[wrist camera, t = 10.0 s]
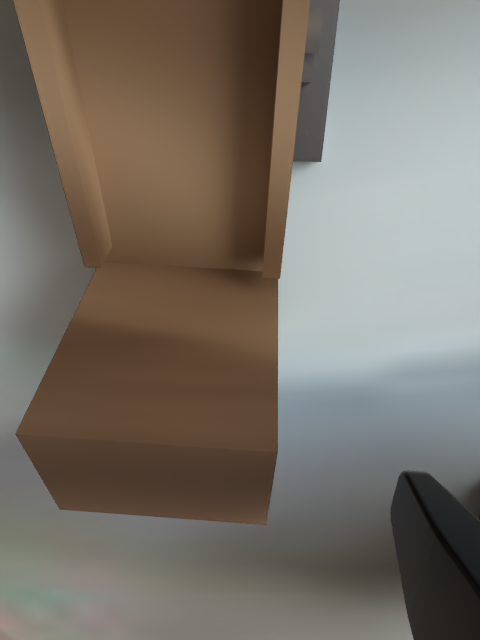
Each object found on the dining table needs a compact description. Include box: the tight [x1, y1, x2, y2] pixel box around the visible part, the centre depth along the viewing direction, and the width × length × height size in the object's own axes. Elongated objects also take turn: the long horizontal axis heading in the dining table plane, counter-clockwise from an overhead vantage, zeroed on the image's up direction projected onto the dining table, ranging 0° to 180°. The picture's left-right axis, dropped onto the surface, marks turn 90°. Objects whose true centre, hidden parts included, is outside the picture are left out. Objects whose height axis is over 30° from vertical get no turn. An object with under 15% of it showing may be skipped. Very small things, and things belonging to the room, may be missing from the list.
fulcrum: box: [293, 0, 340, 162], centre depth 10 cm, size 5×6×2 cm
